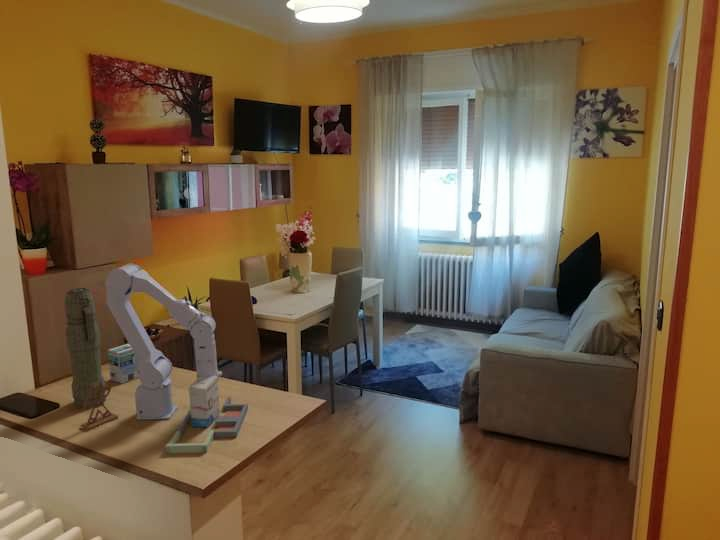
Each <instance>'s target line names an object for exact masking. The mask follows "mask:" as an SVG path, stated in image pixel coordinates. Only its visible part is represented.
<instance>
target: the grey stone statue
mask: <svg viewBox="0 0 720 540" xmlns="http://www.w3.org/2000/svg"><path fill="white" fill-rule="evenodd" d="M64 309H65V318H66V319H67V321H66V325H67V326H66V329H65V339H66V347H67V350H68V352H69V356H70V365H71V374H72V382H71V394H72V398H73V401H74V402H73V403H74V407H75V408H77V407H78V409H83V404H84V402H85V400H86V399H87V398H88V397H89V396H92V394H91V393H90V391H89V389H90V386H91V385H92V384H93V383H94V382H100V383H101V384H102V385H103V387H104V386H105V385H106V381H105V377H104V375H103V373H102V369H103V368H102V363H101V361H102V360H101V353H100V347H101V336H100V327H99V325H98V323H97V319H96V318H95V317H96V316H95V315H96V309H95V300H94V296H93V293H92V292H91V290H90V289H88V288H85V287H84V288H79V287H78V288H74V289H73V288H72V289H69V291H66V294H65V298H64ZM97 386H100V384H99V383H96V384H95V385H93V387H97ZM93 387H92V388H93ZM99 389H101V387H100V388H99ZM91 391H94V392H96V391H98V388H96V390H91ZM102 391H103V390H102ZM106 391H107V390H106ZM106 391H105V392H104V393H102V394H100V395H101V397H98V399H99V400H98V402H99V404H102V402H101V398H102V397H104V396H105V395H106V393H107V392H106ZM92 393H93V392H92ZM93 394H96V393H93ZM97 395H98V393H97ZM92 401H93V402H94V407H95V406H97V404H96V403H97V401H96V399H95V398H94V397H91V398H90V399H89V400H88V401H87V402H86V404H87V405H88V404H89V403H90V402H92ZM106 401H107V397H106V398H104V399H103V402H104V403H105V402H106ZM88 408H89V407H88V406H87V407H85V409H88ZM91 408H92V404H91Z"/></svg>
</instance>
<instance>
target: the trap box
mask: <svg viewBox="0 0 720 540" xmlns="http://www.w3.org/2000/svg"><path fill="white" fill-rule="evenodd" d="M222 409H223V411H225V413H224V415H223V416H217V417H216V418H215V420H214V426H215V428H217V429H216V430H213V429H211V430H210V431H209V432H208V435H207V437H206V438H205V440H204V442H196V443H195V442H191V443H187V442H185V443H177V442H178V441H179V440H180V438H181V436H182V435H183V433H184V431H185V429H186V428H187V426H188V425H189V423H190V422H191V421H192V420H191V408H190V409H189V410H188V412H187V414H186V415H185V417H184V419H183V420H182V422H181V423H180V425H179V426H178V427H177V429H176V431H175V432H174V434H173V436H172V437H171V438H170V440H169V441H168V443H166V444H165V454H190V453H191V454H193V453H195V454H196V453H197V454H200V453H201V454H202V453H207V452H208V450H209V448H210V446H211V443H213V440H214V438H215V439H216V438H237V437H238V436H239V435H238V434H239V432H240V430H241V427H242V425H243V423H244V420H245V417H246V415H247V413H248V410H249V404H248V403H232V397H231V396H227V397H226V400H225V401H224V403H223V407H222Z"/></svg>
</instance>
